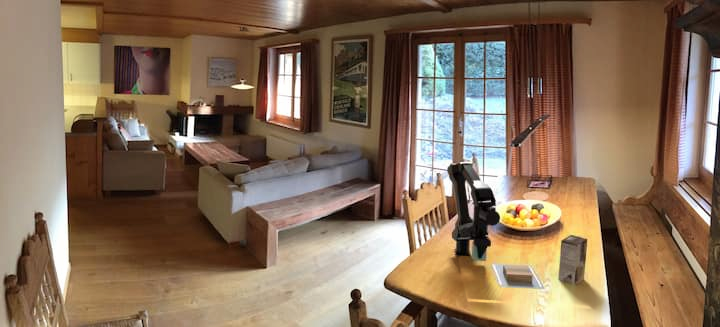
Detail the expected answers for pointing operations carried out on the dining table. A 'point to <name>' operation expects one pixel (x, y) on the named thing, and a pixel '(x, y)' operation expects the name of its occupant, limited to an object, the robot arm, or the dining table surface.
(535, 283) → the board
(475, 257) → the teal block
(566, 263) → the coffee box
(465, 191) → the robot arm
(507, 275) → the plinth
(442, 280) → the dining table surface
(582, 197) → the dining table surface
